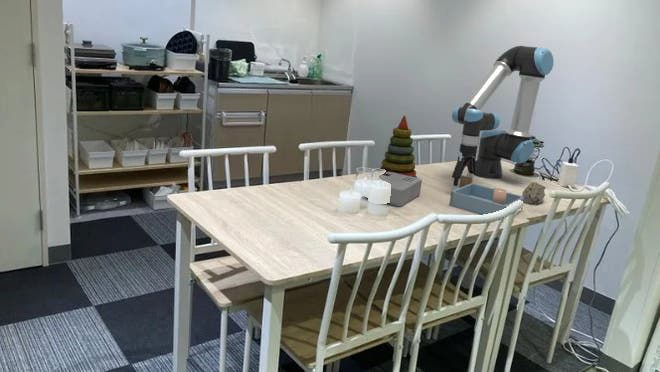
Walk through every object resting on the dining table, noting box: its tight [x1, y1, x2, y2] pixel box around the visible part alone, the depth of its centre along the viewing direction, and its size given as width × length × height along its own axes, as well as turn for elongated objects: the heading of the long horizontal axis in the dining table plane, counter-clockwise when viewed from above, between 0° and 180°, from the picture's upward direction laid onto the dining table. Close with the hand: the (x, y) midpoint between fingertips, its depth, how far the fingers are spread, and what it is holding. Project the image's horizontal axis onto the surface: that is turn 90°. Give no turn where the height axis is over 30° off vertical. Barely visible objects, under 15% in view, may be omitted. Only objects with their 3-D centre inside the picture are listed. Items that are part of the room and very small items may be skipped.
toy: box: [379, 115, 419, 178], centre depth 255 cm, size 20×20×30 cm
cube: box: [459, 174, 474, 188], centre depth 247 cm, size 6×6×6 cm
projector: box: [379, 172, 423, 208], centre depth 229 cm, size 17×22×8 cm
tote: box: [449, 182, 524, 215], centre depth 225 cm, size 20×24×6 cm
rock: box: [521, 181, 546, 204], centre depth 238 cm, size 12×7×10 cm, turn 121°
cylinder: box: [492, 188, 508, 205], centre depth 222 cm, size 5×5×8 cm
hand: (461, 189), depth 248 cm, fingers open, 13 cm apart
